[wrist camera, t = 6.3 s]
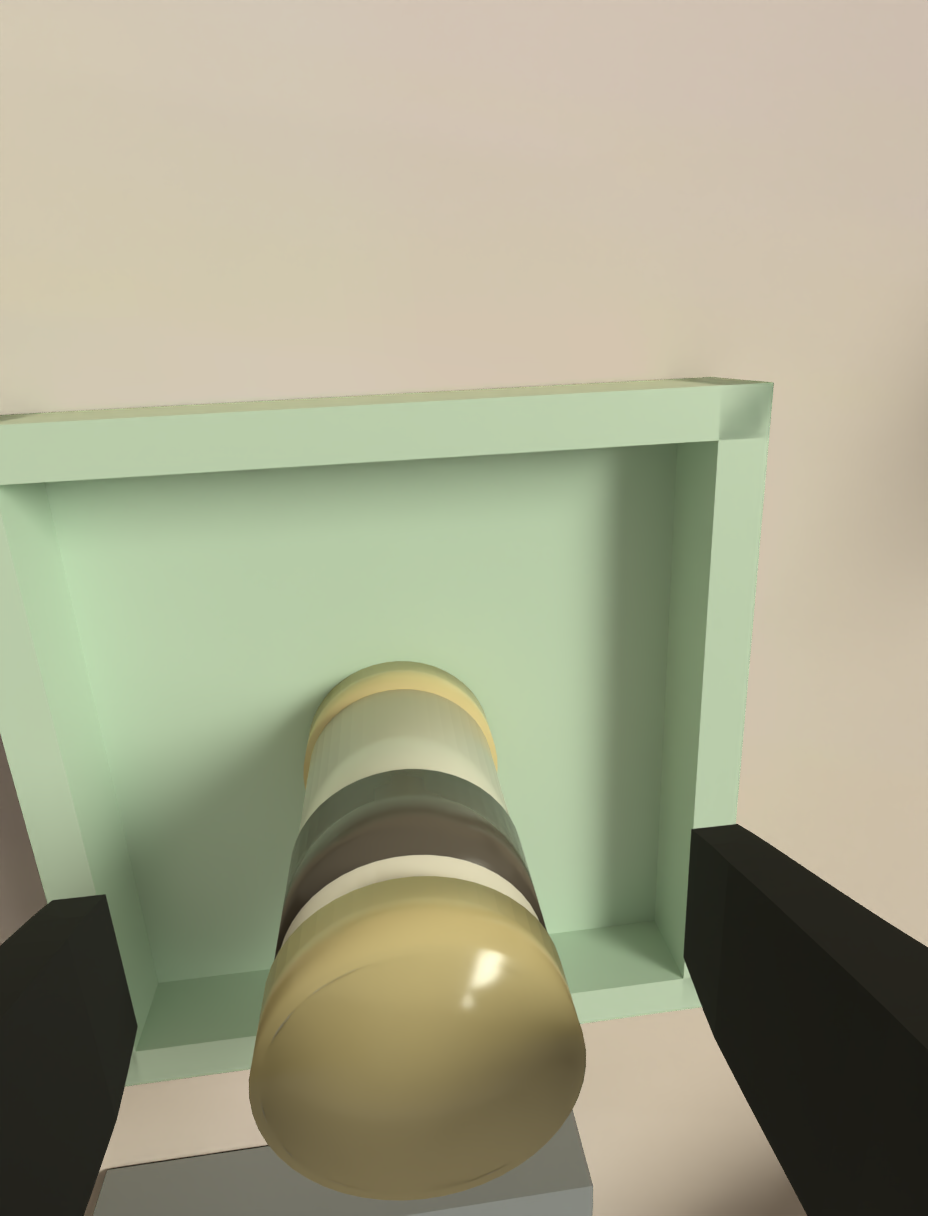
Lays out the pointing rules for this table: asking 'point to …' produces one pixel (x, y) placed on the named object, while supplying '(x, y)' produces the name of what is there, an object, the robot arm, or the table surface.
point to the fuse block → (308, 1212)
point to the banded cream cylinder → (410, 957)
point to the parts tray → (376, 657)
